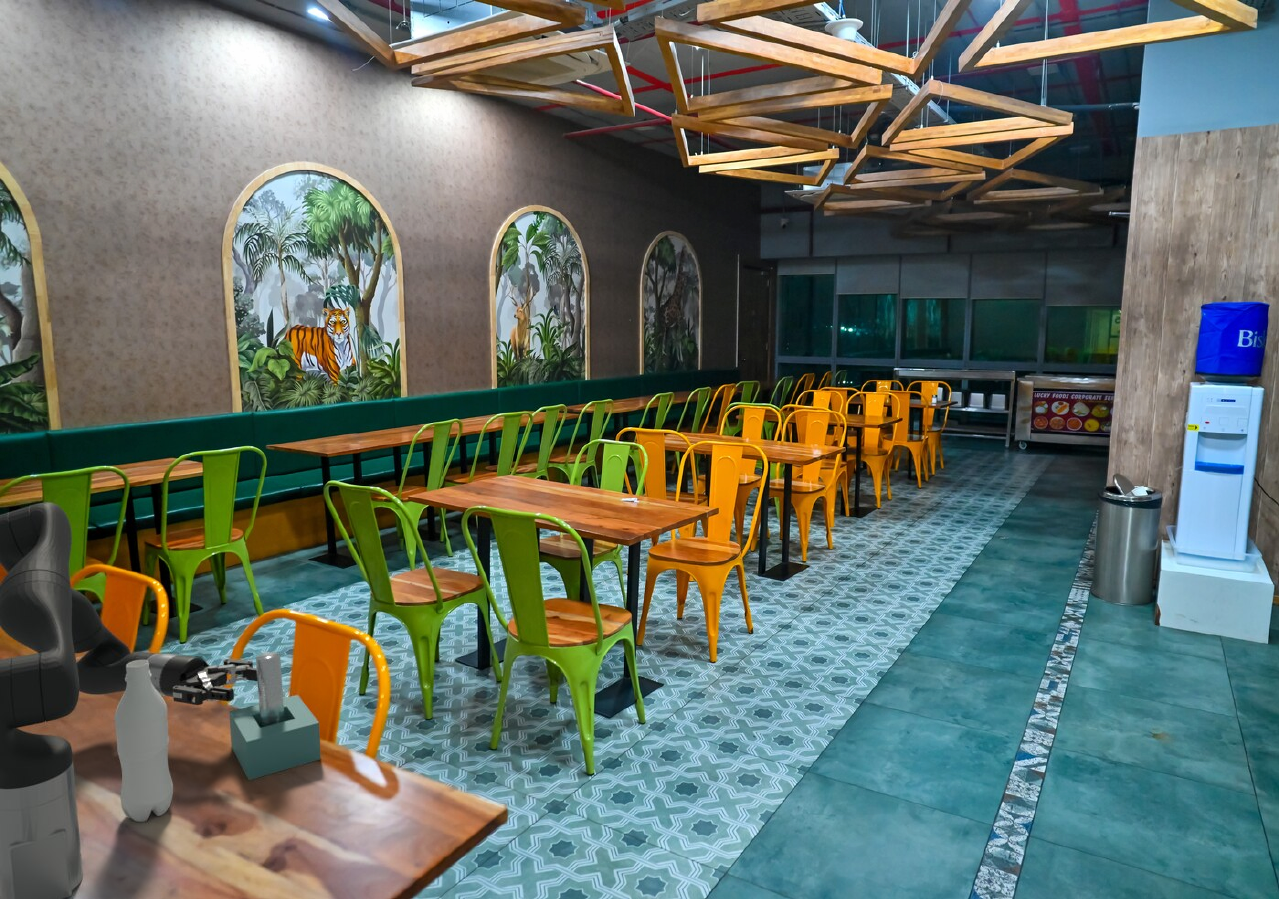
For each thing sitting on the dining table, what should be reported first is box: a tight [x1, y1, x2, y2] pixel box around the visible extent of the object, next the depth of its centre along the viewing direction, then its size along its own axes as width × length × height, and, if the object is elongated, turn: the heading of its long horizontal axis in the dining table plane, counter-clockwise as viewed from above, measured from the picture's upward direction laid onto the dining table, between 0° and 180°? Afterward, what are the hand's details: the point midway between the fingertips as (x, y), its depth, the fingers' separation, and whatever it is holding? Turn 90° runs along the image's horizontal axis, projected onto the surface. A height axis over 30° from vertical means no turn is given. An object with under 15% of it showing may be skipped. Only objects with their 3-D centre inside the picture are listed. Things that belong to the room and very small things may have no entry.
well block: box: [229, 694, 322, 781], centre depth 150 cm, size 14×12×7 cm
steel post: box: [255, 651, 285, 728], centre depth 149 cm, size 4×4×18 cm
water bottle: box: [113, 660, 174, 823], centre depth 130 cm, size 7×7×25 cm
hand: (249, 685), depth 150 cm, fingers open, 8 cm apart
